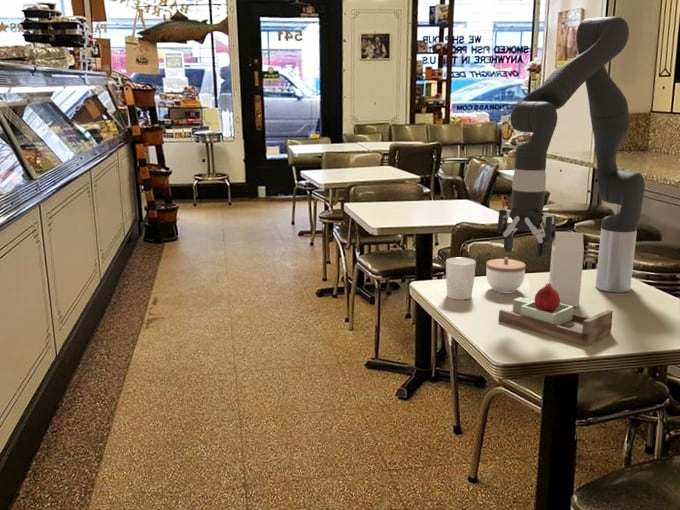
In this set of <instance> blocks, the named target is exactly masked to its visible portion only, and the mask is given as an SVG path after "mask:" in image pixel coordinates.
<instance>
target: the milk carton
mask: <svg viewBox="0 0 680 510" xmlns="http://www.w3.org/2000/svg"><path fill="white" fill-rule="evenodd" d="M584 248H585V246H584V232H571V231H570V232H566V231H562V232H561V231H555V240H552V243H551V253H550V266H549V267H550V268H549V280H548V283H550V284H551V287H552V288H553V289H555V290H556V292H557V293H558V295H559V297H560V303H561V304H565V305H569V306H573V307H575V308H576V307H577V308H579V307H580V300H581V299H580V296H581V289H582V288H581V287H582V276H583V275H582V274H583V265H584V263H583V262H584V255H585V249H584Z"/></svg>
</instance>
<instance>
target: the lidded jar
mask: <svg viewBox="0 0 680 510" xmlns="http://www.w3.org/2000/svg"><path fill="white" fill-rule="evenodd" d="M485 264H486V265H485V266H486V270H485V273H486V280H487V283H488V285H489V286H490V287H491V289H494V290H495V291H494V290H493V291H494V292H496V291H498V292H497V293H499V292H513V293H515V292H516V291H517V290H518V289H519V288H520V287H521V286H522V284H523V282H524V278H525V274H526V273H525V272H526V269H527V268H526V267H527V266H526V264H525V262H523V261H520V260H516V259H512V258H510V259H509V257H504V258H495V259H490V260H487V261H486V263H485ZM514 291H515V292H514Z"/></svg>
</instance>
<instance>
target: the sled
mask: <svg viewBox="0 0 680 510" xmlns="http://www.w3.org/2000/svg"><path fill="white" fill-rule="evenodd" d="M512 301H513V302H512V311H513V312H515V313H518V314H520V315H523V316H527V317H530V318H534V319H538V320H541V321H545V322H548V323H552V324H556V325H561V324H563V323H565V322H568V321H570V320H572V319H573V313H574V306H569V305H565V304H561V303H560V305H559V307H558V308H557V309H556V310H555V311H554V312H552V313H549V312H545V311H542V310H538V309H537V307H536V305H535V300H532V299H529V298H525V297H521V296H520V297H517V298H514V299H513V300H512Z"/></svg>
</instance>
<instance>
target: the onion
mask: <svg viewBox="0 0 680 510" xmlns="http://www.w3.org/2000/svg"><path fill="white" fill-rule="evenodd" d="M534 301H535V305H536V307H537V309H538V310H542V311H545V312H549V313H552V312H554V311H555V310H556V309H557V308H558V307H559V305H560V297H559V295H558V293H557V292H556V290H555V289H553V288H552V287H551V284H550V283H549V282H547V283H546V284H545V286H543V287H541V288H540V289H539V290H537V292H536V294H535V296H534Z"/></svg>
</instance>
